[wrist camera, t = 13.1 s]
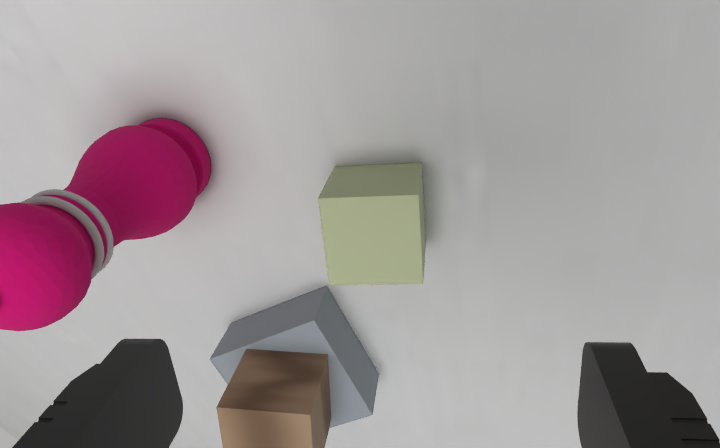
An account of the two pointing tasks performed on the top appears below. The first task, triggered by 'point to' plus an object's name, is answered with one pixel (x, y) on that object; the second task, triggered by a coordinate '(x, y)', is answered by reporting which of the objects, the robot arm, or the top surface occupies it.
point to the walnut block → (276, 401)
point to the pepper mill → (95, 217)
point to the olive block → (374, 224)
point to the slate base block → (308, 348)
